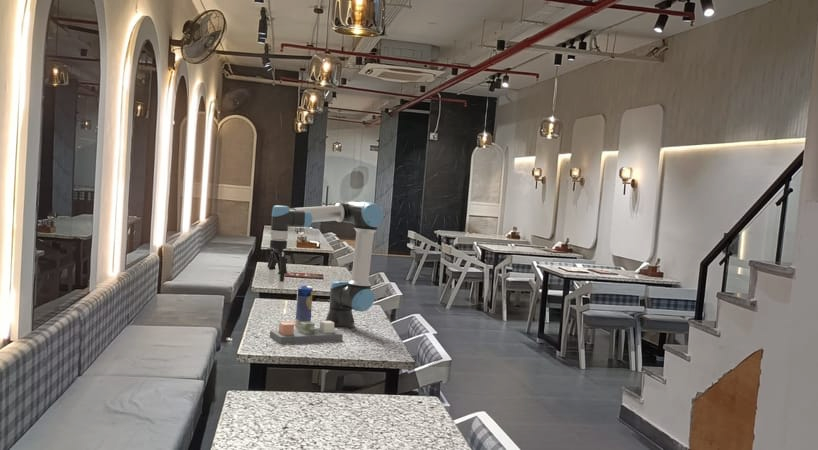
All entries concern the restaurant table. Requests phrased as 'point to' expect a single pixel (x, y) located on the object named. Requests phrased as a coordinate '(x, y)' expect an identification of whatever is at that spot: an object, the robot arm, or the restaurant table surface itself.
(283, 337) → the gray slotted block tray
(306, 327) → the sage block
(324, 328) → the off-white block
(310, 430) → the restaurant table surface
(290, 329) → the terracotta block
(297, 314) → the beverage box
